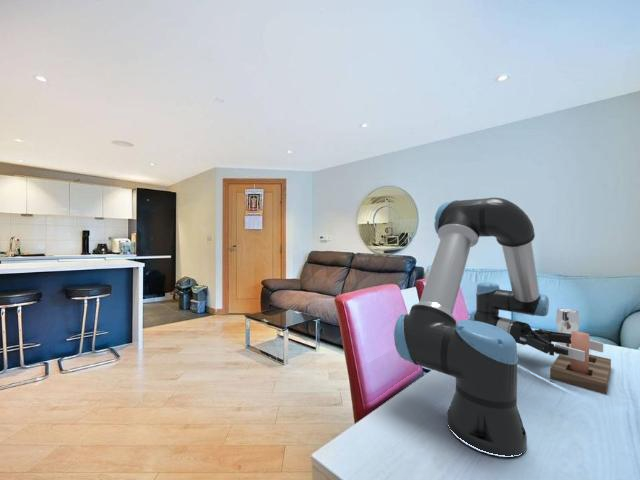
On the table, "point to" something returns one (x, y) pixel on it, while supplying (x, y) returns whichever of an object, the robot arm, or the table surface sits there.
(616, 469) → the table surface
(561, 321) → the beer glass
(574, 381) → the hole board
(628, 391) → the table surface
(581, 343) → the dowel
